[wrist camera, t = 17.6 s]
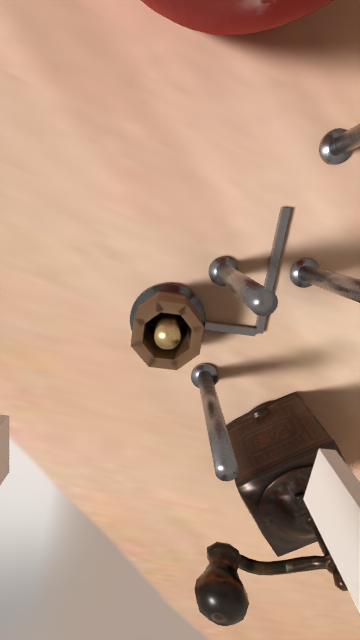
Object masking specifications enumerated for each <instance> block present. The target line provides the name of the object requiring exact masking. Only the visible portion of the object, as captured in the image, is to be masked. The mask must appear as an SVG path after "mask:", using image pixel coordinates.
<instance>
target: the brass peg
mask: <svg viewBox="0 0 360 640" xmlns="http://www.w3.org/2000/svg"><path fill="white" fill-rule="evenodd" d="M159 290H160V291H168V292H175V293H183V294H185V295H186V297H187V298H188V299H189V301H190V302H191V303H192V305H193V306H194V307H195V309H196V310H197V311H198V312H199V314H200V317H201V320H202V323H203V326H204V327H205V313H204V309H203V307H202V304H201V302H200V301H199V299H198V298H197V296H196V295H195V294H194V293H193V292H192V291H190V290H189V289H187V288H185V287H183V286H181V285H178V284H174V283H162V284H157V285H154V286H152V287H150V288H148V289H146V290H145V291H144V292H143V293H141V294H140V296H139V297H138V298H137V299H136V301H135V303H134V305H133V307H132V310H131V315H130V325H131V330H133V321H134V316H135V314H136V311H137V309H138V306H139V305H140V304H141V303H143V302H144V301H145V300H147V299H148V298H149V297H151V296H152V295H153V294H155V293H156V292H157V291H159ZM146 327H147V329H148V330H149V331H150V332H151V333H152V335H153V336H154V339H155V342H156V344H157V345H158V346H159V347H160V348H162V349H172V348H174V347H176V346H177V345H178V344H179V342H180V339H181V336H182V335H183V334H185V333H186V332H187V327H188V324H187V322H186V321H185V320H184V319H183V317H182V316H181V315H178V314H171V313H163V312H160V313H159V314H157V315H156V316H154V317H153V318H152V319H150V320H149V321H148V322H147V323H146ZM203 331H204V330H203Z"/></svg>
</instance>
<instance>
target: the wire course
mask: <svg viewBox="0 0 360 640" xmlns="http://www.w3.org/2000/svg"><path fill="white" fill-rule="evenodd" d="M359 146H360V124H359V125H357V126H355V127H353V128H351V129H350V130H348V131H346V130H344V129H340V128H339V129H334V130H332V131H330V132H328V133H327V134H326V135H325V136H324V137H323V139H322V140H321V143H320V148H319V152H320V156H321V158H322V159H323V161H324V162H326V163H327V164H330V165H336V164H339V163H342V162H343V161H345V160H346V159H347V158H348V157H349V156H350V154H351V152H352V149H355V148H357V147H359ZM290 211H291V208H287V207H281V210H280V214H279V219H278V224H277V228H276V233H275V238H274V242H273V247H272V251H271V256H270V261H269V265H268V270H267V274H266V279H265V284H264V286H262V285H261V284H259V283H257V282H256V281H254V280H252V279H251V278H249V277H247V276H246V275H244V274H242V273H241V272H239V271H238V266H237V264H236V262H235V261H234V260H233V259H231V258H229V257H225V256H222V257H218V258H216V259H215V260H213V261H212V263H211V264H210V267H209V276H210V278H211V280H212V281H213V282H214V283H215V284H217V285H220V286H228V287H229V288H230V289H231V290H232V291H233V292H234V293H235V294H236V295H237V296H238V297H239V298H240V299H241V300H242V301H243V302H244V303H245V304H246V305H247V306H248V307H249V308H250V309H251V310H252V311H253V312H254V313H255V314H257V315H258V316H257V321H256V325H255V327H247V326H239V325H232V324H224V323H216V322H209V321H205V327H204V330H211V331H219V332H227V333H234V334H242V335H250V336H255V333H262V334H263V331H264V326H265V322H266V317H267V315H270V314H271V313H273V312H274V311H275V309H276V307H277V304H278V299H277V296H276V295H275V293H273V292H272V291H273V286H274V282H275V277H276V273H277V268H278V264H279V259H280V255H281V251H282V246H283V242H284V237H285V233H286V228H287V224H288V219H289V215H290ZM290 279H291V281H292V282H293V283H294V284H295V285H296V286H299V287H302V288H305V287H309V286H311V285H315V286H318V287H320V288H323V289H325V290H328V291H331V292H333V293H336V294H338V295H341V296H344V297H346V298H349V299H351V300H354V301H357V302H359V303H360V279H357V278H353V277H349V276H345V275H341V274H338V273H334V272H330V271H326V270H322V269H320V268H319V266H318V264H317V263H316V262H315V261H314V260H312V259H308V258H303V259H300V260H298V261H296V262H295V263H294V264H293V266H292V267H291V270H290ZM191 379H192V382H193V384H194V385H195V386H196V387H198V388H200V393H201V398H202V404H203V409H204V414H205V420H206V425H207V430H208V436H209V441H210V446H211V451H212V457H213V462H214V467H215V473H216V476H217V477H218V478H219V479H220V480H222V481H231V480H233V479H234V478H236V477H237V475H238V472H239V469H238V466H237V462H236V459H235V455H234V452H233V448H232V445H231V441H230V438H229V434H228V431H227V427H226V424H225V420H224V417H223V414H222V410H221V407H220V403H219V400H218V396H217V393H216V389H215V386H214V385H215V383H216V382H217V379H218V374H217V371H216V369H215V368H214V367H213V366H212V365H210V364H207V363H203V364H199V365H197V366H196V367H195V368H194V369H193V371H192V373H191Z"/></svg>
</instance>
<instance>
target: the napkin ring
mask: <svg viewBox="0 0 360 640" xmlns="http://www.w3.org/2000/svg"><path fill="white" fill-rule="evenodd" d="M160 312H163V313H171V314H178V315H181V316H182V317H183V319H184V320H185V321H186V322H187V324H188V327H187V332H186V333H185V334H183V335H182V336H181V339H180V342H179V344H178V345H177V346H176V347H174V348H172V349H162V348H160V347H159V346H158V345H157V344H156V342H155V339H154V336H153V335H152V333H151V332H150V331H149V330H148V329H147V327H146V323H147V322H148V321H149V320H150V319H152V318H153V317H154V316H156V315H157V314H159V313H160ZM203 330H204V326H203V323H202V320H201V317H200V314H199V312H198V311H197V310H196V309H195V307H194V306H193V305H192V303H191V302H190V301H189V299H188V298H187V297H186V295H185V294H183V293H175V292H168V291H160V290H159V291H157V292H156V293H155V294H153V295H152V296H151V297H149V298H148V299H147V300H145V301H144V302H143V303H141V304H140V305H139V306H138V309H137V311H136V314H135V316H134V321H133V330H132V339H131V347H132V348H133V349H134V350H135V351H136V352H137V354H138V355H139V356H140V357H141V358H142V359H143V361H144V362H145V363H146V364H147V365H148V366H149V367H155V368H163V369H172V370H178V369H179V368H180V367H182V366H183V365H185V364H186V363H187V362H189V361H190V360H192V359H193V358H195V357H196V356H197V355H199V354H200V348H201V342H202V336H203Z"/></svg>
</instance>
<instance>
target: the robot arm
mask: <svg viewBox="0 0 360 640" xmlns="http://www.w3.org/2000/svg"><path fill="white" fill-rule="evenodd" d="M8 473H9V416H6V415H0V485H1V483H2V482H3V480H4V479H5V477H6V476H7V474H8ZM303 500H304V502H305V504H306V506H307V508H308V510H309V512H310V514H311V516H312V518H313V520H314V522H315V524H316V526H317V528H318V530H319V532H320V534H321V536H322V538H323V540H324V542H325V544H326V546H327V548H328V550H329V552H330V554H331V556H332V558H333V560H334V562H335V564H336V566H337V568H338V570H339V572H340V574H341V576H342V578H343V580H344V582H345V584H346V586H347V589H348V591H349V593H350V595H351V597H352V599H353V601H354V603H355V605H356V607H357V609H358V611H359V613H360V482H359V480H358V479H357V478H356V476H355V475H354V474H353V472H352V471H351V470H350V468H349V467H348V466H347V464H346V463H345V462H344V461H343V459H342V458H341V457H340V455H339V454H338V453H337V451H336V450H330V449H320V448H319V450H318V453H317V456H316V459H315V463H314V466H313V469H312V472H311V476H310V479H309V482H308V485H307V489H306V492H305V495H304V499H303Z"/></svg>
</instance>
